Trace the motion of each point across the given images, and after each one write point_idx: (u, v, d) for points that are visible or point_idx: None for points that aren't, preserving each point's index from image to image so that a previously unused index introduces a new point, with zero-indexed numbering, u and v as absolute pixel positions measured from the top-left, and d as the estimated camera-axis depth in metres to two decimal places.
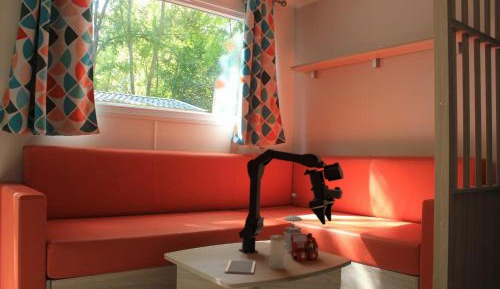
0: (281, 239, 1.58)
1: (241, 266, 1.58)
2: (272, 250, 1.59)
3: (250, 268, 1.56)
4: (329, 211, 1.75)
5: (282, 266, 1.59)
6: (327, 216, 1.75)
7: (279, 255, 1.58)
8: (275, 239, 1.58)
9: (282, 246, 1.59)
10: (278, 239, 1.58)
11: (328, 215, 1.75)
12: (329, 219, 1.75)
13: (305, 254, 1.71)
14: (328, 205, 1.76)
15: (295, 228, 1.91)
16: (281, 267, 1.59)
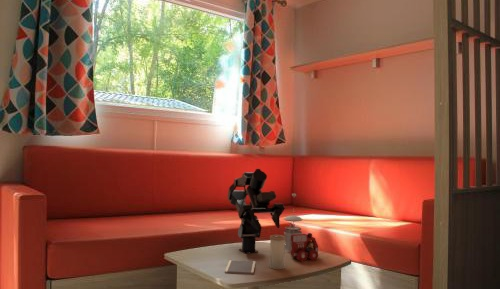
0: (281, 239, 1.58)
1: (241, 266, 1.58)
2: (272, 250, 1.59)
3: (250, 268, 1.56)
4: (276, 218, 1.72)
5: (282, 266, 1.59)
6: (276, 224, 1.71)
7: (279, 255, 1.58)
8: (275, 239, 1.58)
9: (282, 246, 1.59)
10: (278, 239, 1.58)
11: (276, 222, 1.71)
12: (277, 226, 1.70)
13: (305, 254, 1.71)
14: (275, 213, 1.73)
15: (295, 228, 1.91)
16: (281, 267, 1.59)
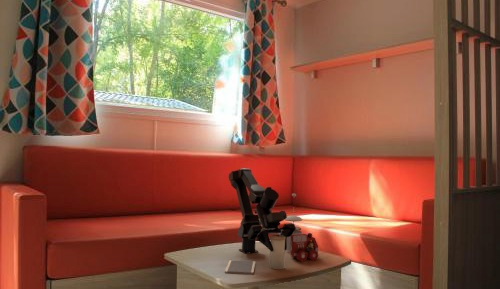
0: (281, 239, 1.58)
1: (241, 266, 1.58)
2: None
3: (250, 268, 1.56)
4: None
5: (282, 266, 1.59)
6: None
7: (279, 255, 1.58)
8: (275, 239, 1.58)
9: (282, 246, 1.59)
10: (278, 239, 1.58)
11: None
12: None
13: (305, 254, 1.71)
14: (281, 234, 1.65)
15: None
16: (281, 267, 1.59)
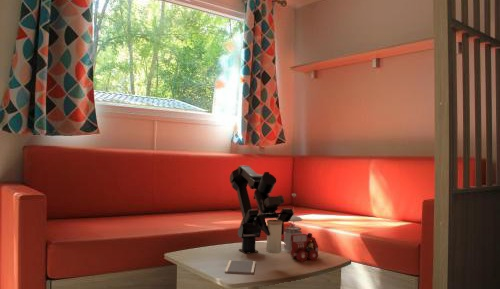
0: (278, 223, 1.58)
1: (241, 266, 1.58)
2: None
3: (250, 268, 1.56)
4: None
5: (279, 250, 1.59)
6: None
7: (276, 240, 1.58)
8: (272, 223, 1.58)
9: (279, 230, 1.59)
10: (274, 223, 1.58)
11: None
12: None
13: (305, 254, 1.71)
14: (279, 219, 1.64)
15: (295, 228, 1.91)
16: (278, 251, 1.58)
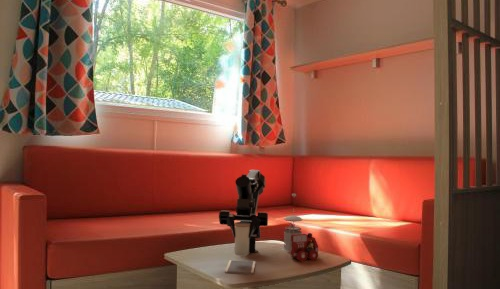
0: (241, 226, 1.58)
1: (241, 266, 1.58)
2: (235, 236, 1.61)
3: (250, 268, 1.56)
4: None
5: (244, 253, 1.59)
6: None
7: (240, 242, 1.59)
8: (236, 225, 1.59)
9: (243, 233, 1.59)
10: (238, 225, 1.59)
11: (249, 232, 1.61)
12: (249, 235, 1.60)
13: (305, 254, 1.71)
14: None
15: (295, 228, 1.91)
16: (242, 254, 1.59)
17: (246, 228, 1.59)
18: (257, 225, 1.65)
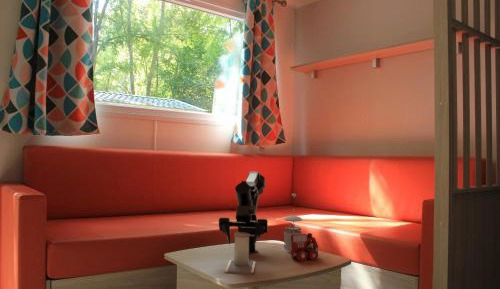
0: (241, 236, 1.58)
1: (241, 266, 1.58)
2: (235, 246, 1.61)
3: (250, 268, 1.56)
4: (254, 234, 1.62)
5: (243, 263, 1.59)
6: (253, 240, 1.61)
7: (239, 252, 1.59)
8: (236, 236, 1.59)
9: (243, 243, 1.59)
10: (238, 236, 1.59)
11: (254, 239, 1.61)
12: None
13: (305, 254, 1.71)
14: (256, 229, 1.63)
15: (295, 228, 1.91)
16: (241, 264, 1.58)
17: (246, 238, 1.59)
18: (261, 232, 1.65)
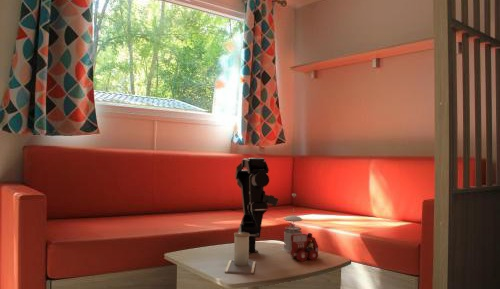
0: (241, 236, 1.59)
1: (241, 266, 1.58)
2: (234, 246, 1.61)
3: (250, 268, 1.56)
4: None
5: (243, 263, 1.59)
6: (255, 222, 1.75)
7: (239, 252, 1.59)
8: (235, 235, 1.60)
9: (243, 243, 1.59)
10: (238, 235, 1.59)
11: None
12: (256, 226, 1.75)
13: (305, 254, 1.71)
14: None
15: (295, 228, 1.91)
16: (241, 264, 1.58)
17: (245, 238, 1.59)
18: (251, 211, 1.78)
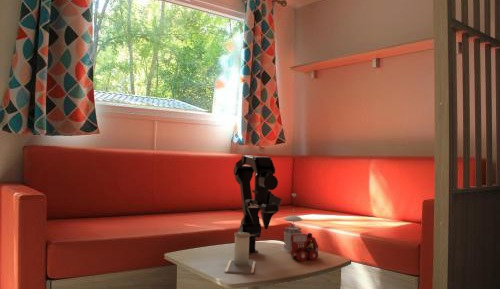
0: (241, 236, 1.58)
1: (241, 266, 1.58)
2: (235, 246, 1.60)
3: (250, 268, 1.56)
4: (256, 215, 1.76)
5: (243, 263, 1.59)
6: (254, 220, 1.75)
7: (239, 252, 1.58)
8: (236, 236, 1.59)
9: (243, 243, 1.58)
10: (238, 236, 1.59)
11: (255, 219, 1.75)
12: (255, 223, 1.75)
13: (305, 254, 1.71)
14: (256, 209, 1.76)
15: (295, 228, 1.91)
16: (241, 264, 1.58)
17: (246, 239, 1.59)
18: None
